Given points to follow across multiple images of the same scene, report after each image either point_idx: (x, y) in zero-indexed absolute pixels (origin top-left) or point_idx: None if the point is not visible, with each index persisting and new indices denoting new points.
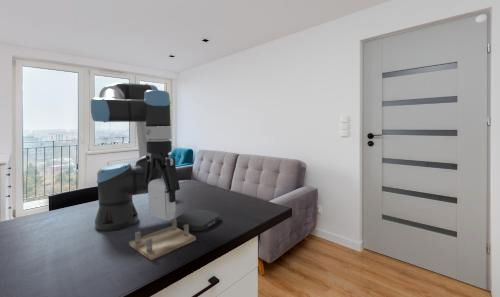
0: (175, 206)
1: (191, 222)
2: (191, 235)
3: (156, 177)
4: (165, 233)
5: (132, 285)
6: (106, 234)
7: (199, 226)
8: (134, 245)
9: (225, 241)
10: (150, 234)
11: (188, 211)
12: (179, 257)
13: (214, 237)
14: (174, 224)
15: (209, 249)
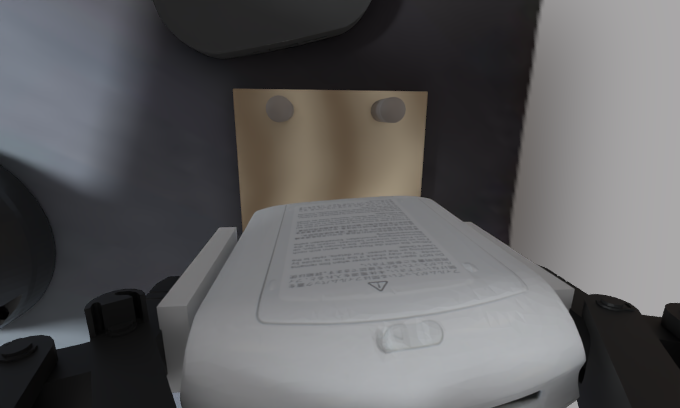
0: (486, 232)
1: (306, 11)
2: (402, 97)
3: (171, 404)
4: (291, 164)
5: None
6: (74, 313)
7: (366, 7)
8: None
9: (535, 14)
10: (248, 212)
11: None
12: (470, 213)
13: (471, 18)
14: (291, 115)
15: (521, 108)
